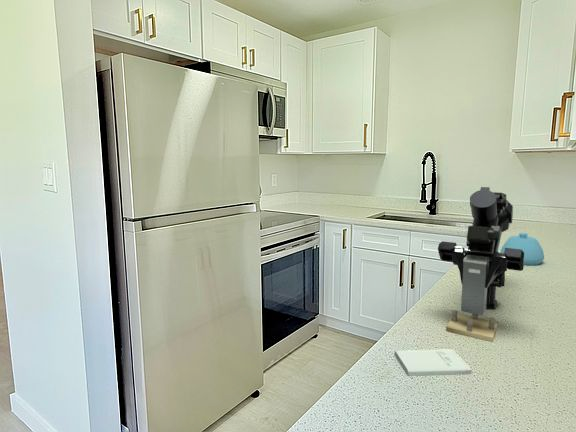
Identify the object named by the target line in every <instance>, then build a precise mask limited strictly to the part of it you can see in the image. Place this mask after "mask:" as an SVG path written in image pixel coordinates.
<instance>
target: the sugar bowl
mask: <svg viewBox="0 0 576 432" xmlns="http://www.w3.org/2000/svg"><path fill="white" fill-rule="evenodd" d="M528 235H529V234H528V233H527V232H519V233H518V235H511V236H510V237H508V238H507V240H505V242H504V243H503V245H502V247H501V249H500V252H499V253H504V251H505V248H512V249H522V250H523V251H524V266H538V265H540V264H541V263H542V262H543V261H544V260H545V254H544V251H543V248H542V245H541V244H540V242H539V241H538V239H536V238H535V237H531V236H528Z"/></svg>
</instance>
